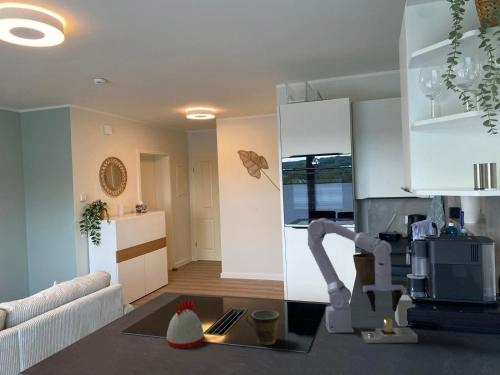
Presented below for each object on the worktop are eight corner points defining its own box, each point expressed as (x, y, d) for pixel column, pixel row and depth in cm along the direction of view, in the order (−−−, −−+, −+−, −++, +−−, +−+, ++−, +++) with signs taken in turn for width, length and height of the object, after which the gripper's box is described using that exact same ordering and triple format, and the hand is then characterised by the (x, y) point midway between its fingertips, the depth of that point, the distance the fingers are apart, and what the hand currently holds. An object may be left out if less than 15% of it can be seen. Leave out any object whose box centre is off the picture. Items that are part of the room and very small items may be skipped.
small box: (413, 327, 149) (412, 300, 149) (398, 326, 150) (397, 300, 150) (409, 320, 157) (408, 294, 157) (394, 319, 158) (394, 294, 158)
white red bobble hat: (211, 339, 144) (210, 299, 144) (181, 351, 134) (180, 309, 134) (188, 330, 153) (187, 293, 153) (159, 341, 143) (158, 301, 143)
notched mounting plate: (366, 343, 135) (366, 334, 135) (361, 334, 143) (360, 327, 143) (417, 342, 135) (417, 334, 135) (409, 334, 142) (409, 326, 142)
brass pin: (385, 340, 137) (385, 321, 137) (383, 337, 140) (382, 318, 140) (394, 340, 137) (393, 320, 137) (391, 336, 140) (390, 318, 140)
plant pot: (349, 281, 221) (348, 254, 221) (374, 279, 223) (373, 252, 223) (359, 288, 206) (359, 258, 206) (386, 286, 208) (385, 257, 208)
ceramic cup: (283, 338, 142) (282, 311, 142) (273, 349, 133) (273, 320, 133) (252, 333, 148) (251, 307, 148) (240, 343, 139) (239, 316, 139)
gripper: (366, 277, 138) (367, 314, 138) (406, 276, 137) (407, 314, 137) (361, 272, 145) (362, 308, 145) (400, 272, 144) (400, 307, 144)
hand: (383, 310), depth 141 cm, fingers open, 7 cm apart
